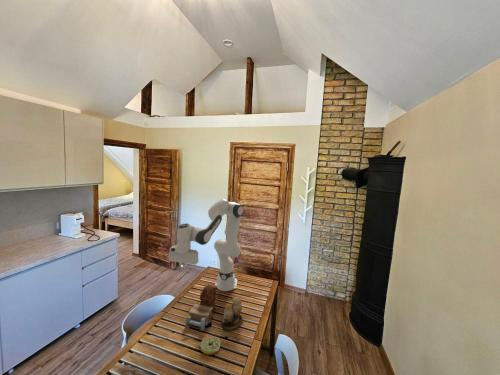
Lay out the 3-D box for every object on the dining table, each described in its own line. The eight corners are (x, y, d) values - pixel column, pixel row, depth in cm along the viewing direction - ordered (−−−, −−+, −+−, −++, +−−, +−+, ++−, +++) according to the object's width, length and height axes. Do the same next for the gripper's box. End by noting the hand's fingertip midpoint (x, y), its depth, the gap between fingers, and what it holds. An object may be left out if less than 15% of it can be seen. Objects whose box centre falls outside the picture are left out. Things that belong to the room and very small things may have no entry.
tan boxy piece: (194, 313, 150) (194, 303, 150) (212, 317, 148) (213, 307, 147) (184, 327, 137) (185, 316, 136) (204, 331, 134) (204, 320, 134)
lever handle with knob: (185, 326, 137) (185, 315, 137) (187, 323, 140) (187, 313, 139) (203, 331, 134) (203, 320, 133) (205, 328, 136) (205, 318, 136)
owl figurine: (232, 311, 154) (234, 288, 153) (247, 318, 148) (248, 294, 147) (216, 327, 139) (217, 301, 137) (232, 335, 133) (233, 308, 131)
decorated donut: (222, 353, 119) (222, 347, 119) (202, 358, 115) (202, 352, 115) (218, 339, 129) (218, 333, 129) (199, 343, 125) (199, 337, 125)
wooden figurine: (205, 316, 147) (206, 291, 146) (198, 313, 151) (199, 287, 149) (217, 308, 157) (218, 283, 156) (210, 304, 161) (211, 280, 159)
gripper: (200, 248, 148) (199, 268, 149) (172, 245, 152) (172, 264, 153) (196, 252, 141) (195, 273, 143) (167, 248, 145) (166, 268, 147)
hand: (183, 268), depth 148 cm, fingers closed
